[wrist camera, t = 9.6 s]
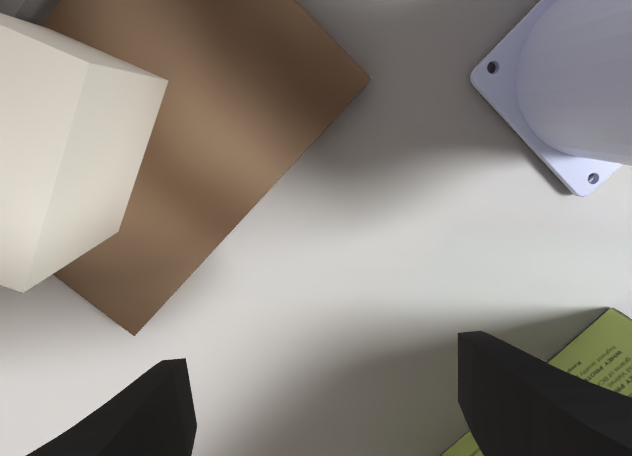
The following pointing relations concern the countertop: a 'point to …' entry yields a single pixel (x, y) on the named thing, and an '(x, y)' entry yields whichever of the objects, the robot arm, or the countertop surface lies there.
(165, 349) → the countertop surface
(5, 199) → the carton
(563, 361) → the protein box
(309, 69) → the shelf
